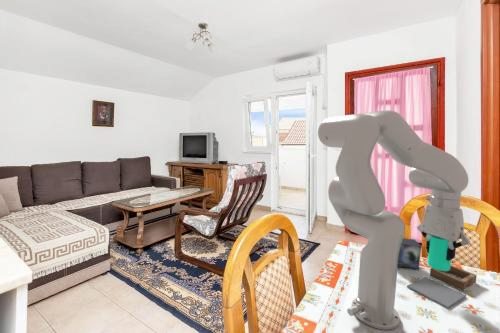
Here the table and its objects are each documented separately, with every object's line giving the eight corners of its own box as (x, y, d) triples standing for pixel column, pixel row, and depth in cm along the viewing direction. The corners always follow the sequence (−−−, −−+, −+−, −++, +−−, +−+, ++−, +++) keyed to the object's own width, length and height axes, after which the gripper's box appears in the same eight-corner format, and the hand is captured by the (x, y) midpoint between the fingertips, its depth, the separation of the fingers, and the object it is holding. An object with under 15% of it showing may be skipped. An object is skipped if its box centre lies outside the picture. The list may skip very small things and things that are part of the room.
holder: (462, 290, 82) (463, 282, 81) (429, 275, 91) (430, 268, 90) (475, 282, 86) (476, 275, 86) (443, 269, 95) (443, 262, 95)
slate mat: (447, 308, 73) (448, 306, 73) (406, 287, 84) (407, 285, 83) (465, 296, 79) (466, 295, 79) (425, 278, 89) (425, 276, 89)
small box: (390, 267, 96) (392, 242, 95) (384, 259, 103) (386, 236, 101) (419, 271, 94) (422, 245, 93) (412, 262, 100) (414, 238, 99)
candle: (454, 272, 77) (458, 236, 75) (433, 269, 78) (436, 234, 76) (443, 262, 82) (446, 229, 81) (423, 260, 84) (426, 227, 82)
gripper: (410, 198, 83) (406, 247, 85) (473, 211, 68) (466, 271, 70) (422, 195, 87) (418, 243, 89) (484, 207, 72) (477, 264, 74)
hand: (439, 255), depth 80 cm, fingers closed on candle, 4 cm apart
